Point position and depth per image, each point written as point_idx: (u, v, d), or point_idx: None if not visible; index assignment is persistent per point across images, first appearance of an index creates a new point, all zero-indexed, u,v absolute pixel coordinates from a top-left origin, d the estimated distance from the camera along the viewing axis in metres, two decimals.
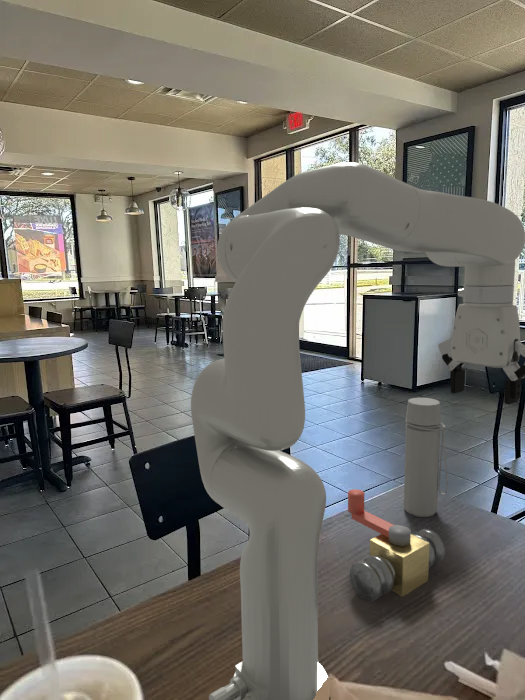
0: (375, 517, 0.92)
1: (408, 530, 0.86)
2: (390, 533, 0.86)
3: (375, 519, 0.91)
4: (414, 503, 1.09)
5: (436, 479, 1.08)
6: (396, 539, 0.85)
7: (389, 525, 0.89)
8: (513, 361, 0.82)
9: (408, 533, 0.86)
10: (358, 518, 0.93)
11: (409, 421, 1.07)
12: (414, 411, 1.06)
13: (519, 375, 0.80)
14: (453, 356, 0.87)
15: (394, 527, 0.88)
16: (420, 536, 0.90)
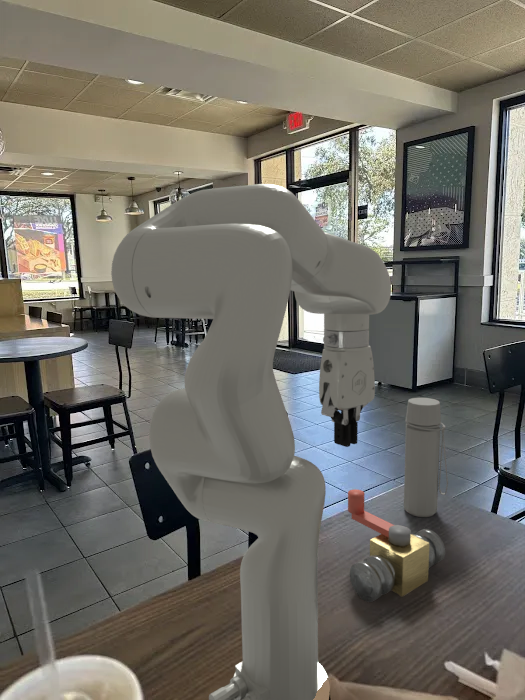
0: (375, 517, 0.92)
1: (408, 530, 0.86)
2: (390, 533, 0.86)
3: (375, 519, 0.91)
4: (414, 503, 1.09)
5: (436, 479, 1.08)
6: (396, 539, 0.85)
7: (389, 525, 0.89)
8: None
9: (408, 533, 0.86)
10: (358, 518, 0.93)
11: (409, 421, 1.07)
12: (414, 411, 1.06)
13: None
14: (342, 405, 0.83)
15: (394, 527, 0.88)
16: (420, 536, 0.90)
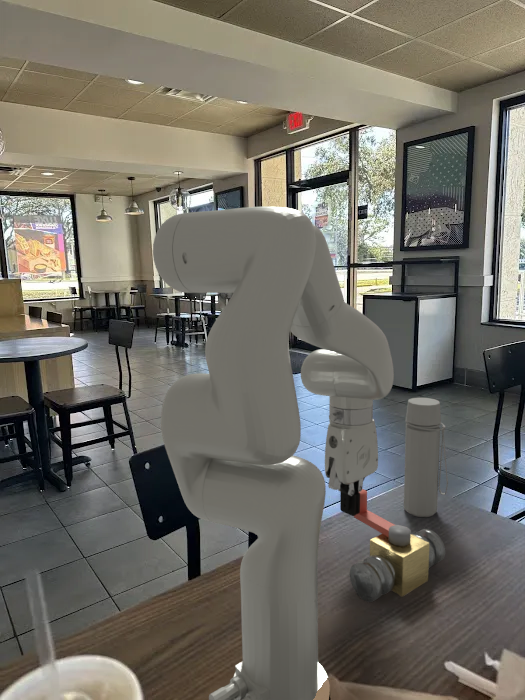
0: (377, 516, 0.92)
1: (408, 530, 0.86)
2: (390, 533, 0.86)
3: (377, 518, 0.91)
4: (414, 503, 1.09)
5: (436, 479, 1.08)
6: (395, 539, 0.85)
7: (390, 525, 0.89)
8: None
9: (408, 533, 0.85)
10: (360, 517, 0.93)
11: (409, 421, 1.07)
12: (414, 411, 1.06)
13: None
14: (347, 480, 0.86)
15: (394, 527, 0.88)
16: (420, 536, 0.90)
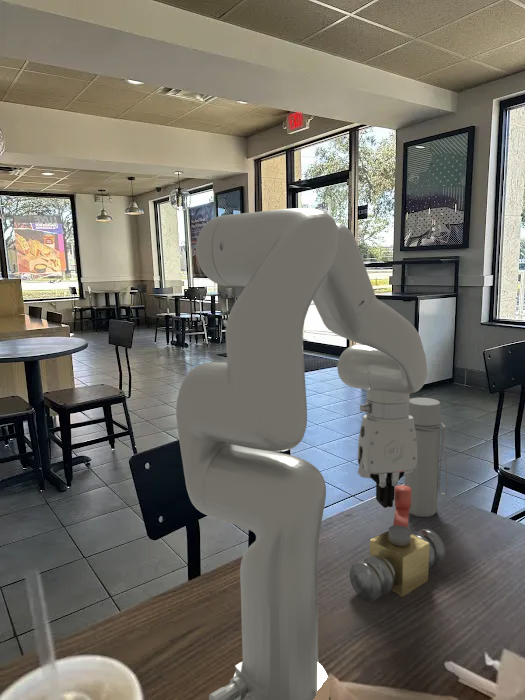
0: (405, 516, 0.92)
1: (406, 534, 0.85)
2: None
3: (402, 517, 0.92)
4: (414, 503, 1.09)
5: (436, 479, 1.08)
6: (389, 535, 0.87)
7: (403, 525, 0.89)
8: None
9: (401, 535, 0.85)
10: (395, 511, 0.95)
11: None
12: (414, 411, 1.06)
13: None
14: (371, 470, 0.90)
15: (400, 527, 0.88)
16: (420, 536, 0.90)
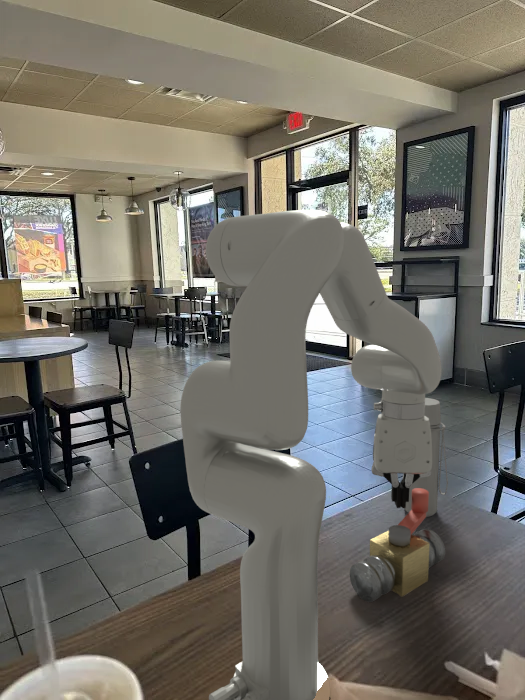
0: (416, 519, 0.91)
1: (404, 534, 0.85)
2: None
3: (412, 519, 0.91)
4: None
5: (436, 479, 1.08)
6: None
7: (407, 526, 0.88)
8: None
9: (398, 535, 0.85)
10: None
11: None
12: None
13: (411, 482, 0.93)
14: (380, 468, 0.91)
15: (402, 527, 0.87)
16: (420, 536, 0.90)
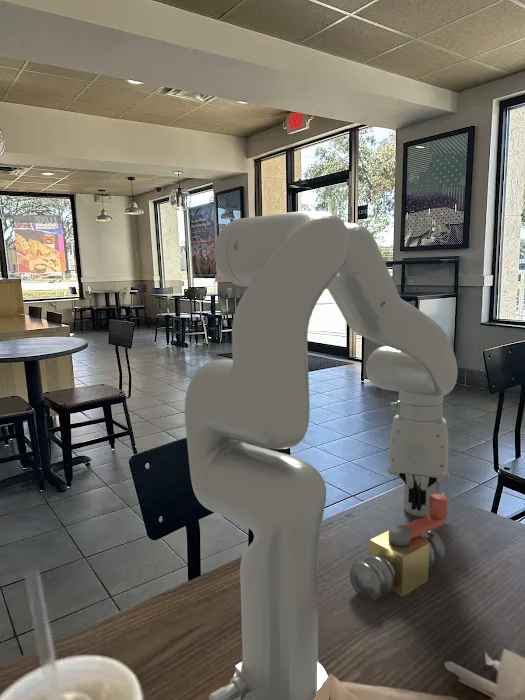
0: (426, 523, 0.89)
1: (401, 534, 0.85)
2: None
3: (422, 523, 0.89)
4: None
5: None
6: None
7: (411, 528, 0.88)
8: None
9: (394, 534, 0.85)
10: None
11: None
12: None
13: (427, 485, 0.92)
14: (392, 467, 0.92)
15: (405, 528, 0.87)
16: (420, 536, 0.90)
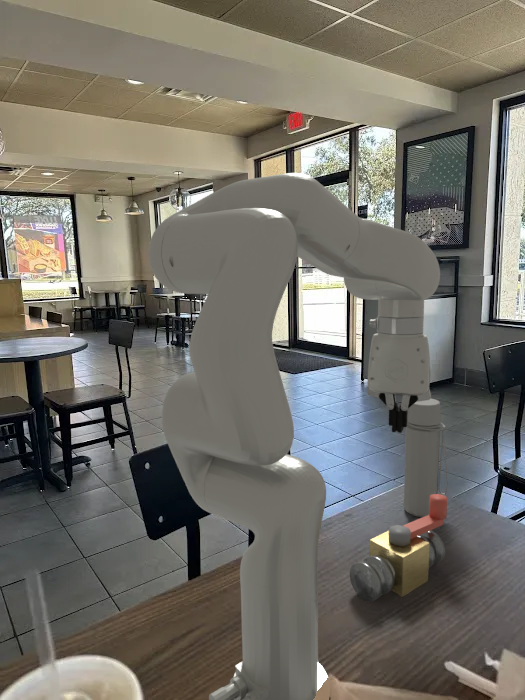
0: (426, 523, 0.89)
1: (401, 534, 0.85)
2: None
3: (422, 523, 0.89)
4: (414, 503, 1.09)
5: (436, 479, 1.08)
6: None
7: (411, 528, 0.88)
8: None
9: (394, 534, 0.85)
10: None
11: (409, 421, 1.07)
12: (414, 411, 1.06)
13: (408, 405, 0.87)
14: (371, 387, 0.87)
15: (405, 528, 0.87)
16: (420, 536, 0.90)
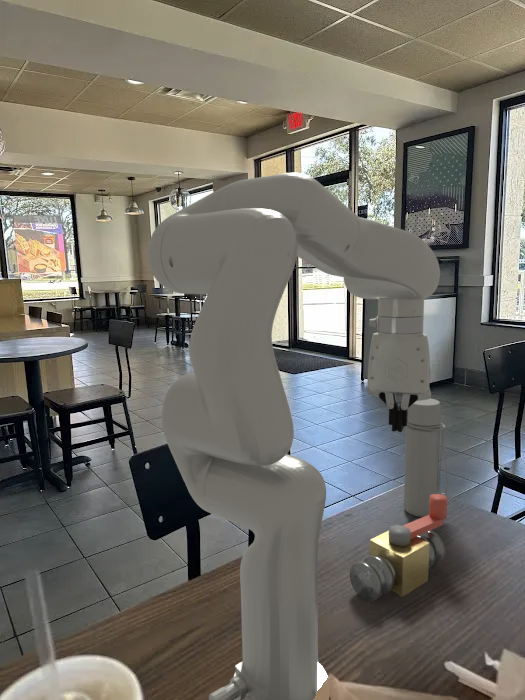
0: (426, 523, 0.89)
1: (401, 534, 0.85)
2: None
3: (422, 523, 0.89)
4: (414, 503, 1.09)
5: (436, 479, 1.08)
6: None
7: (411, 528, 0.88)
8: None
9: (394, 534, 0.85)
10: None
11: (409, 421, 1.07)
12: (414, 411, 1.06)
13: (408, 404, 0.87)
14: (371, 386, 0.87)
15: (405, 528, 0.87)
16: (420, 536, 0.90)
